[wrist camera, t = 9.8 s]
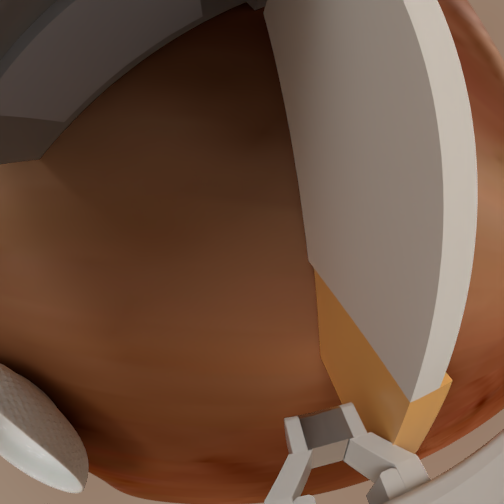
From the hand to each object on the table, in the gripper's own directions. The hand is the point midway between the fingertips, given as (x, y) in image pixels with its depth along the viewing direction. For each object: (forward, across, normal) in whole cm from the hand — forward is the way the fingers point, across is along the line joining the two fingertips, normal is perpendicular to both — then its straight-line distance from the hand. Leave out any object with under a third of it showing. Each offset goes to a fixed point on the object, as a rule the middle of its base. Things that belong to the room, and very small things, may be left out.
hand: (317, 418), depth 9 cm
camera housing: (+8, +6, -20) cm, 22 cm away
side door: (+7, -2, -7) cm, 11 cm away
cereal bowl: (+8, +26, +8) cm, 28 cm away
